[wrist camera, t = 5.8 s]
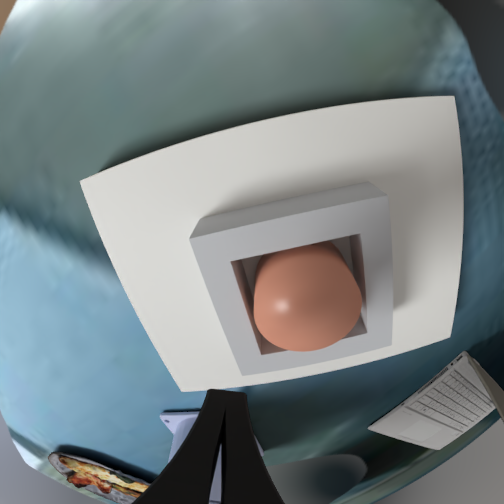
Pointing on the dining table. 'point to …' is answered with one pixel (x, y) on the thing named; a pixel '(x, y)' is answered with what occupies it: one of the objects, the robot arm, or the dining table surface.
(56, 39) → the dining table surface
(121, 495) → the food plate
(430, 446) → the laptop
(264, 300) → the button
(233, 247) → the button panel
